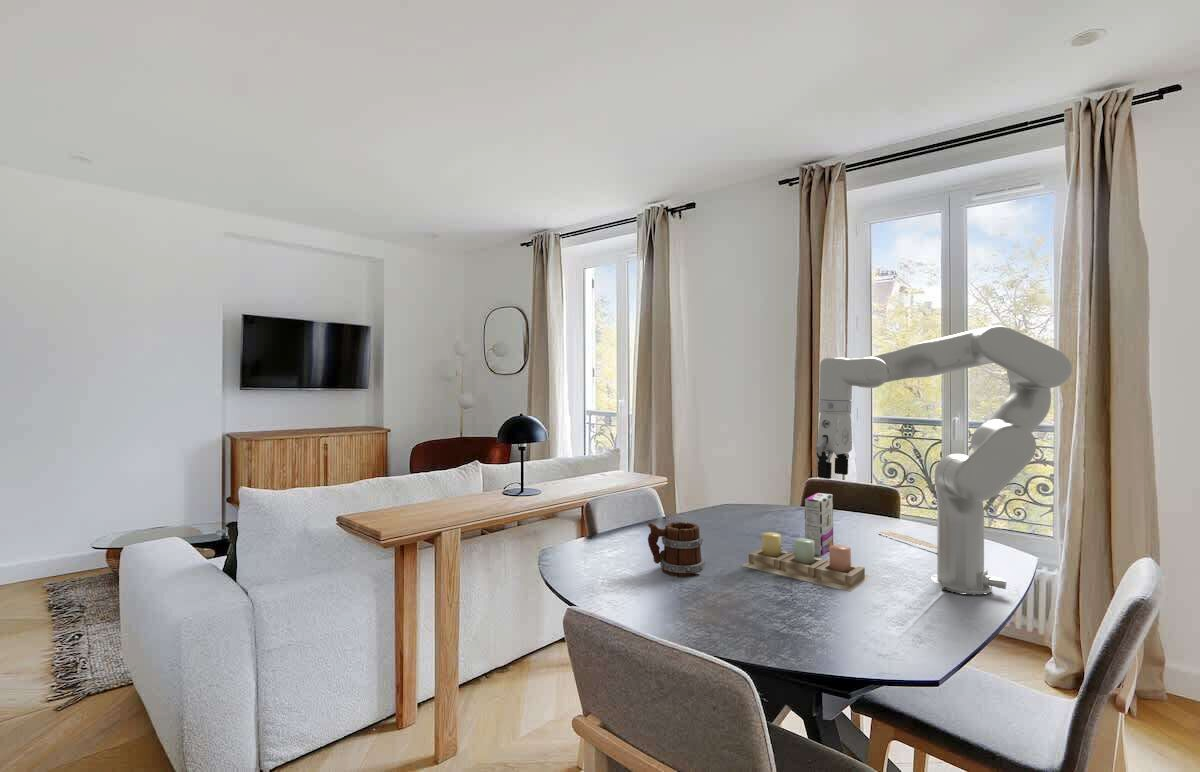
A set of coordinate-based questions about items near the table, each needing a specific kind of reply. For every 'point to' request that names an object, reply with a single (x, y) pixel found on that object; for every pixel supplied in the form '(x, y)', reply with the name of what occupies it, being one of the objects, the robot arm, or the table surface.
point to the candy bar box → (819, 521)
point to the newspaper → (908, 538)
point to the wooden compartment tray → (807, 570)
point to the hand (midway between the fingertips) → (832, 476)
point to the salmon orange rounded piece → (840, 557)
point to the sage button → (804, 550)
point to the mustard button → (771, 544)
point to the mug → (677, 548)
